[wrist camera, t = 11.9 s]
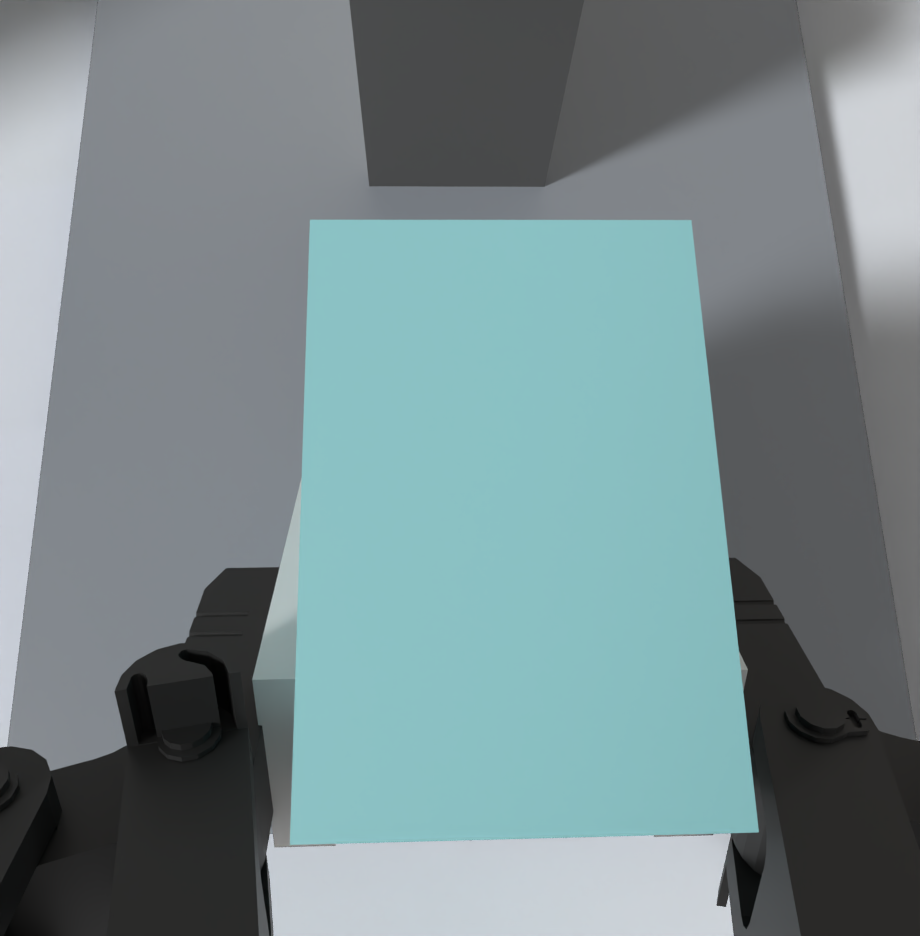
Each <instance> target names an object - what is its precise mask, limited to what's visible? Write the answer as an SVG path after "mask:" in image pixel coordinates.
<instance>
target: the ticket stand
mask: <svg viewBox="0 0 920 936" xmlns="http://www.w3.org/2000/svg"><path fill="white" fill-rule="evenodd" d="M310 220H691V221H692V230H693V239H694V248H695V258H696V267H697V276H698V285H699V294H700V303H701V312H702V321H703V330H704V339H705V348H706V357H707V366H708V375H709V385H710V394H711V403H712V412H713V421H714V430H715V439H716V448H717V457H718V466H719V475H720V484H721V493H722V502H723V512H724V521H725V530H726V539H727V548H728V557H729V558H737V559H738V560H739V561H740V562H742V563H743V564H744V565H745V566H747V567H748V568H749V569H751V570H752V571H753V572H754V573H756V574H757V575H758V576H759V577H761V579H762V581H763V582H764V584H765V586H766V588H767V589H768V591H769V593H770V594H771V596H772V598H773V600H774V605H777V606H778V608H779V610H780V612H781V613H782V615H783V617H784V618H785V620H784V621H785V623H787V624H788V625H789V627H790V629H791V630H792V632H793V634H794V636H795V637H796V639H797V641H798V642H799V644H800V646H801V648H802V649H803V651H804V653H805V654H806V656H807V658H808V660H809V661H810V663H811V665H812V666H813V668H814V670H815V672H816V673H817V675H818V677H819V678H820V680H821V682H822V684H823V685H824V687H825V688H829V689H832V690H834V691H836V692H838V693H840V694H842V695H844V696H846V697H848V698H850V699H852V700H853V701H854V702H855V703H857V704H858V705H859V706H860V707H861V708H863V709H864V710H865V711H866V712H867V713H868V714H869V715H870V717H871V719H872V720H873V722H874V724H875V725H876V727H877V728H878V730H879V731H881V732H884V733H888V734H891V735H895V736H898V737H902V738H907V739H911V740H916V734H915V728H914V722H913V716H912V710H911V704H910V697H909V691H908V685H907V679H906V673H905V667H904V661H903V654H902V648H901V642H900V636H899V630H898V624H897V618H896V611H895V605H894V599H893V593H892V587H891V581H890V574H889V568H888V562H887V556H886V550H885V544H884V538H883V531H882V525H881V519H880V513H879V507H878V501H877V495H876V488H875V482H874V476H873V470H872V464H871V458H870V452H869V445H868V439H867V433H866V427H865V421H864V415H863V409H862V402H861V396H860V390H859V384H858V378H857V372H856V366H855V359H854V353H853V347H852V341H851V335H850V329H849V323H848V316H847V310H846V304H845V298H844V292H843V286H842V280H841V273H840V267H839V261H838V255H837V249H836V243H835V236H834V230H833V224H832V218H831V212H830V206H829V200H828V193H827V187H826V181H825V175H824V169H823V163H822V157H821V150H820V144H819V138H818V132H817V126H816V120H815V114H814V107H813V101H812V95H811V89H810V83H809V77H808V71H807V64H806V58H805V52H804V46H803V40H802V34H801V28H800V21H799V15H798V9H797V3H796V0H98V3H97V11H96V20H95V28H94V36H93V44H92V53H91V61H90V69H89V77H88V86H87V94H86V102H85V110H84V119H83V127H82V135H81V143H80V151H79V160H78V168H77V176H76V184H75V193H74V201H73V209H72V217H71V226H70V234H69V242H68V250H67V259H66V267H65V275H64V283H63V292H62V300H61V308H60V316H59V325H58V333H57V341H56V349H55V358H54V366H53V374H52V382H51V390H50V399H49V407H48V415H47V423H46V432H45V440H44V448H43V456H42V465H41V473H40V481H39V489H38V498H37V506H36V514H35V522H34V531H33V539H32V547H31V555H30V564H29V572H28V580H27V588H26V597H25V605H24V613H23V621H22V629H21V638H20V646H19V654H18V662H17V671H16V679H15V687H14V695H13V704H12V712H11V720H10V728H9V737H8V745H7V747H10V746H13V747H19V748H25V749H31V750H34V751H35V752H36V753H38V754H39V755H41V756H42V757H43V758H45V759H46V760H47V763H48V766H49V769H50V771H52V770H55V769H59V768H63V767H67V766H70V765H74V764H78V763H82V762H85V761H89V760H93V759H96V758H99V757H102V756H104V755H107V754H110V753H113V752H115V751H117V750H119V749H120V748H122V747H124V746H126V745H127V744H126V739H125V735H124V731H123V726H122V722H121V718H120V713H119V709H118V705H117V700H116V696H115V692H114V691H115V689H116V686H117V684H118V682H119V679H120V677H121V675H122V674H123V673H124V672H125V671H126V670H127V669H128V668H129V667H130V666H131V665H132V664H133V663H134V662H135V661H136V660H138V659H140V658H142V657H144V656H145V655H147V654H149V653H151V652H153V651H155V650H157V649H160V648H164V647H168V646H172V645H175V644H179V643H185V642H186V639H187V637H189V631H190V628H191V625H192V622H193V620H194V617H196V611H197V609H198V606H199V603H200V600H201V597H202V595H203V592H204V589H205V588H206V587H207V586H208V585H209V584H210V583H211V582H212V581H213V580H214V579H215V578H216V577H217V576H218V575H219V574H220V573H221V572H223V571H224V570H225V569H226V568H256V567H280V564H281V560H282V556H283V552H284V547H285V543H286V539H287V535H288V531H289V527H290V523H291V519H292V515H293V511H294V507H295V502H296V498H297V494H298V490H299V486H300V482H301V478H302V450H303V419H304V388H305V357H306V326H307V295H308V264H309V233H310ZM916 741H917V740H916ZM270 834H273V831H272V824H271V829H270Z"/></svg>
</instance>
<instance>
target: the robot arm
mask: <svg viewBox="0 0 920 936" xmlns="http://www.w3.org/2000/svg"><path fill="white" fill-rule="evenodd" d="M301 481H302V478H301ZM300 512H301V482H300V486H299V490H298V494H297V498H296V502H295V507H294V511H293V515H292V519H291V523H290V527H289V531H288V535H287V539H286V543H285V547H284V552H283V556H282V560H281V564H280V567H256V568H226V569H225V570H224V571H223V572H221V573H220V574H219V575H218V576H217V577H216V578H215V579H214V580H213V581H212V582H211V583H210V584H209V585H208V586H207V587H206V588H205V589H204V592H203V595H202V597H201V600H200V603H199V606H198V609H197V611H196V617H194V620H193V622H192V625H191V628H190V631H189V637H187V639H186V642H185V643H179V644H175V645H172V646H168V647H164V648H160V649H157V650H155V651H153V652H151V653H149V654H147V655H145V656H144V657H142V658H140V659H138V660H136V661H135V662H134V663H133V664H132V665H131V666H130V667H129V668H128V669H127V670H126V671H125V672H124V673H123V674H122V675H121V677H120V679H119V682H118V684H117V686H116V689H115V691H114V692H115V696H116V700H117V705H118V709H119V713H120V718H121V722H122V726H123V731H124V735H125V739H126V744H127V745H126V746H124V747H122V748H120V749H119V750H117V751H115V752H113V753H110V754H107V755H104V756H102V757H99V758H96V759H93V760H89V761H85V762H82V763H78V764H74V765H70V766H67V767H63V768H59V769H55V770H52V771H50V769H49V766H48V763H47V760H46V759H45V758H43V757H42V756H41V755H39V754H38V753H36V752H35V751H34V750H31V749H25V748H19V747H13V746H10V747H2V748H0V936H273V921H272V906H271V891H270V878H269V871H268V863H267V856H266V851H267V845H268V840H269V834H270V829H271V824H272V831H273V839H274V846H275V847H304V846H336V844H305V845H290V823H291V792H292V761H293V730H294V699H295V668H296V637H297V606H298V575H299V544H300ZM729 566H730V575H731V584H732V593H733V602H734V611H735V620H736V629H737V638H738V648H739V657H740V666H741V675H742V684H743V693H744V702H745V711H746V720H747V729H748V738H749V747H750V756H751V765H752V775H753V784H754V793H755V802H756V811H757V820H758V829H759V832H756V833H731V837H730V842H729V846H728V851H727V855H726V860H725V864H724V869H723V873H722V877H721V882H720V886H719V891H718V899H717V906H723V907H726V904H727V900H728V895H729V897H730V906H731V915H732V923H733V932H734V936H920V741H916V740H911V739H907V738H902V737H898V736H895V735H891V734H888V733H884V732H881V731H879V730H878V728H877V727H876V725H875V724H874V722H873V720H872V719H871V717H870V715H869V714H868V713H867V712H866V711H865V710H864V709H863V708H861V707H860V706H859V705H858V704H857V703H855V702H854V701H853V700H852V699H850V698H848V697H846V696H844V695H842V694H840V693H838V692H836V691H834V690H832V689H829V688H825V687H824V685H823V684H822V682H821V680H820V678H819V677H818V675H817V673H816V672H815V670H814V668H813V666H812V665H811V663H810V661H809V660H808V658H807V656H806V654H805V653H804V651H803V649H802V648H801V646H800V644H799V642H798V641H797V639H796V637H795V636H794V634H793V632H792V630H791V629H790V627H789V625H788V624H787V623H785V621H784V620H785V618H784V617H783V615H782V613H781V612H780V610H779V608H778V606H777V605H774V600H773V598H772V596H771V594H770V593H769V591H768V589H767V588H766V586H765V584H764V582H763V581H762V579H761V577H759V576H758V575H757V574H756V573H754V572H753V571H752V570H751V569H749V568H748V567H747V566H745V565H744V564H743V563H742V562H740V561H739V560H738V559H737V558H729ZM697 835H713V834H681V835H654V837H661V836H697Z"/></svg>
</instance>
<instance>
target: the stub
mask: <svg viewBox="0 0 920 936" xmlns="http://www.w3.org/2000/svg"><path fill="white" fill-rule="evenodd" d="M756 832H759V829H758V820H757V811H756V802H755V793H754V784H753V775H752V765H751V756H750V747H749V738H748V729H747V720H746V711H745V702H744V693H743V684H742V675H741V666H740V657H739V648H738V638H737V629H736V620H735V611H734V602H733V593H732V584H731V575H730V566H729V557H728V548H727V539H726V530H725V521H724V512H723V502H722V493H721V484H720V475H719V466H718V457H717V448H716V439H715V430H714V421H713V412H712V403H711V394H710V385H709V375H708V366H707V357H706V348H705V339H704V330H703V321H702V312H701V303H700V294H699V285H698V276H697V267H696V258H695V248H694V239H693V230H692V221H691V220H310V233H309V264H308V295H307V326H306V357H305V388H304V419H303V450H302V481H301V512H300V544H299V575H298V606H297V637H296V668H295V699H294V730H293V761H292V792H291V823H290V845H305V844H343V843H380V842H418V841H456V840H493V839H531V838H568V837H606V836H644V835H681V834H719V833H756Z"/></svg>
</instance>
